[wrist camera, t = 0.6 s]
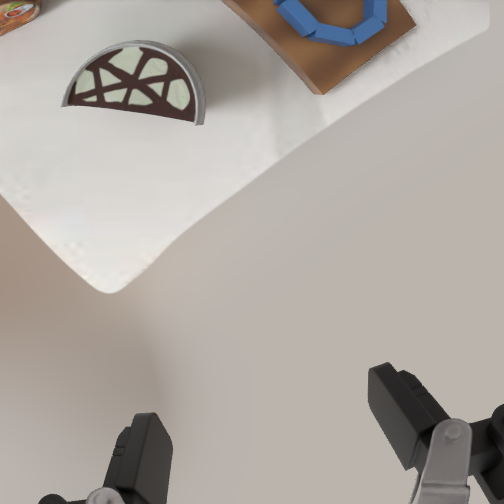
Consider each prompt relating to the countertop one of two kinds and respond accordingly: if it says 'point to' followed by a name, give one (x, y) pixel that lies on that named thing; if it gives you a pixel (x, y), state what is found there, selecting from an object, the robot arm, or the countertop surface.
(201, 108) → the food container
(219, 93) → the countertop surface
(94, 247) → the countertop surface
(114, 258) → the countertop surface
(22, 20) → the mottled orange brown slab
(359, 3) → the platform
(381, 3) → the ring
